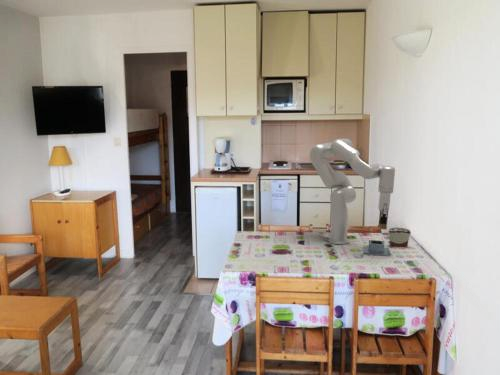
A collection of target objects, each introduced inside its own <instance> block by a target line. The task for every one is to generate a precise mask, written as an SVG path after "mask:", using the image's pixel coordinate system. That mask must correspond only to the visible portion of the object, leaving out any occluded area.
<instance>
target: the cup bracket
mask: <svg viewBox="0 0 500 375" xmlns="http://www.w3.org/2000/svg"><path fill="white" fill-rule="evenodd" d="M385 245H386V244H385V240H376V239H375V240H374V239H369V240H368V245H362V255H369V256H370V255H371V256H381V257H383V256H385V257H391V251H390V247H385Z"/></svg>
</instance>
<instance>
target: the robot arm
mask: <svg viewBox="0 0 500 375" xmlns="http://www.w3.org/2000/svg"><path fill="white" fill-rule="evenodd" d="M360 155H361V154H360V151H359V150H358V149H356V148H355V147H354V145H353V142H352V141H351V140H350V139H349V138H337V139H335V140H333V141H332V142H326V143H324V142H323V143H318V144H315V145H314V146H312V148H311V149H310V152H309V159H310V162H311V164H312V166H313V167H314V169H315V171H316V172H317V174H318V175H319V177H320V179H321V181H322V183H323V185H324V186H325V188H327V189H329V190H330V189H331V190H332V189H333V191H332V192H331V193H330V196H329V202H330V211H331V212H330V233H329V232H328V233H322V237H324V238H325V239H326V238H327V242H328V243H330V244H333V245H346V244H350V239H349V238H348V220H349V219H348V218H349V217H348V215H349V209H348V206H347V204H349V203H352V202H354V201H355V200H356V197H357V192H356V190H355V188H354V185H353V184H352V183H351V181H350V179H349V177H348V176H347V175H346V173H344V172H343V171H339V170H337V171H335V170H334V169H333V167H332V166H331V164H330V162H328V161H327V160H326V158H332V157H336V156H338V157H340V158H341V159H343V160H344V161H345V162H346V163H348V164H349V166H350V167H351V169H352V170H353V172H355V173H356V174H357V175H358V176H360V177H361V178H364V179H366V180H373V179H377V178H378V180H379V181H378V193H379V197H378V198H379V199H378V206H377V207H378V211H379V212H380V210H381V211H382V213H381V218H380V224H386V223H387V224H388V219H387V212H388V213H389V211H390V203H391V194H394V184H395V173H396V168H395V167H394V166H390V165H383V164H381V163H373V164H367V163H366V162H364V161H363V160H362V159H361V158H360ZM383 210H384V211H383Z"/></svg>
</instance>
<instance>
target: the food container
mask: <svg viewBox="0 0 500 375" xmlns="http://www.w3.org/2000/svg"><path fill="white" fill-rule="evenodd" d="M387 233H388V234H389V248H399V247H407V248H408V245H409V240H410V235H412V232H411V230H410V229H408V228H404V227H391V228H389V230H388V232H387Z"/></svg>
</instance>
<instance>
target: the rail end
mask: <svg viewBox="0 0 500 375" xmlns="http://www.w3.org/2000/svg"><path fill="white" fill-rule="evenodd" d="M383 211H384V210H383ZM381 213H382V211H381V210H380V211H379V218H378V224H377V225H378V230H387V228H388V227H387V226H388V222H387V223H386V224H380V218H381ZM388 217H389V211H388V212H387V220H388Z"/></svg>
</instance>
